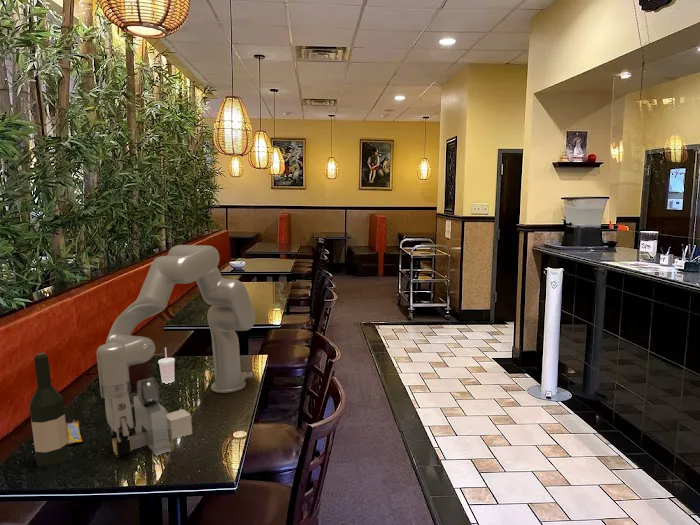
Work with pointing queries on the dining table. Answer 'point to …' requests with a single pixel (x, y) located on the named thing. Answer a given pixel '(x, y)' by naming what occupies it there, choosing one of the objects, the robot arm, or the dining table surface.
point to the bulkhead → (151, 416)
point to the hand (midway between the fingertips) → (121, 449)
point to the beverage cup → (167, 369)
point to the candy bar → (73, 432)
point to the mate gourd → (137, 378)
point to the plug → (176, 427)
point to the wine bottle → (48, 418)
